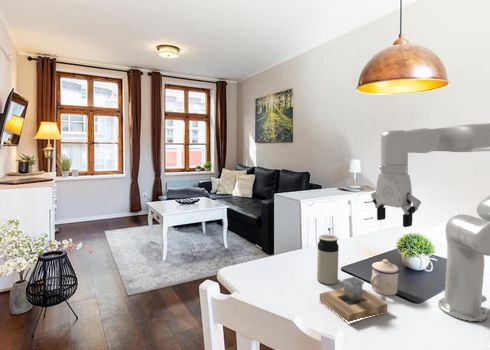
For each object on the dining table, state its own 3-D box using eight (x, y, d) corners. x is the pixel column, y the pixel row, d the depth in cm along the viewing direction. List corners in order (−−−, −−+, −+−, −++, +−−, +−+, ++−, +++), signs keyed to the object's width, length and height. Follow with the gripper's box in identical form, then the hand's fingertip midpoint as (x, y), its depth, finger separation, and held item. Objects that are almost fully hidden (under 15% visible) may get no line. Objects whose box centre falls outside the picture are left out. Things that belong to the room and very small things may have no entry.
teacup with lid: (380, 282, 114) (382, 253, 113) (403, 292, 106) (404, 261, 105) (360, 289, 108) (361, 259, 107) (382, 300, 100) (383, 268, 99)
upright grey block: (355, 301, 99) (355, 276, 98) (363, 307, 96) (364, 281, 95) (341, 305, 97) (342, 279, 96) (349, 311, 93) (350, 284, 92)
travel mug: (338, 285, 111) (339, 240, 109) (317, 284, 113) (318, 239, 111) (336, 276, 119) (337, 234, 117) (316, 275, 120) (317, 233, 119)
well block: (355, 292, 106) (355, 284, 106) (387, 312, 93) (387, 303, 93) (319, 301, 100) (319, 293, 99) (348, 324, 87) (348, 315, 87)
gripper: (364, 169, 97) (364, 218, 99) (411, 172, 81) (410, 231, 83) (380, 167, 100) (380, 215, 102) (428, 170, 84) (427, 227, 86)
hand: (393, 222), depth 92 cm, fingers open, 9 cm apart
